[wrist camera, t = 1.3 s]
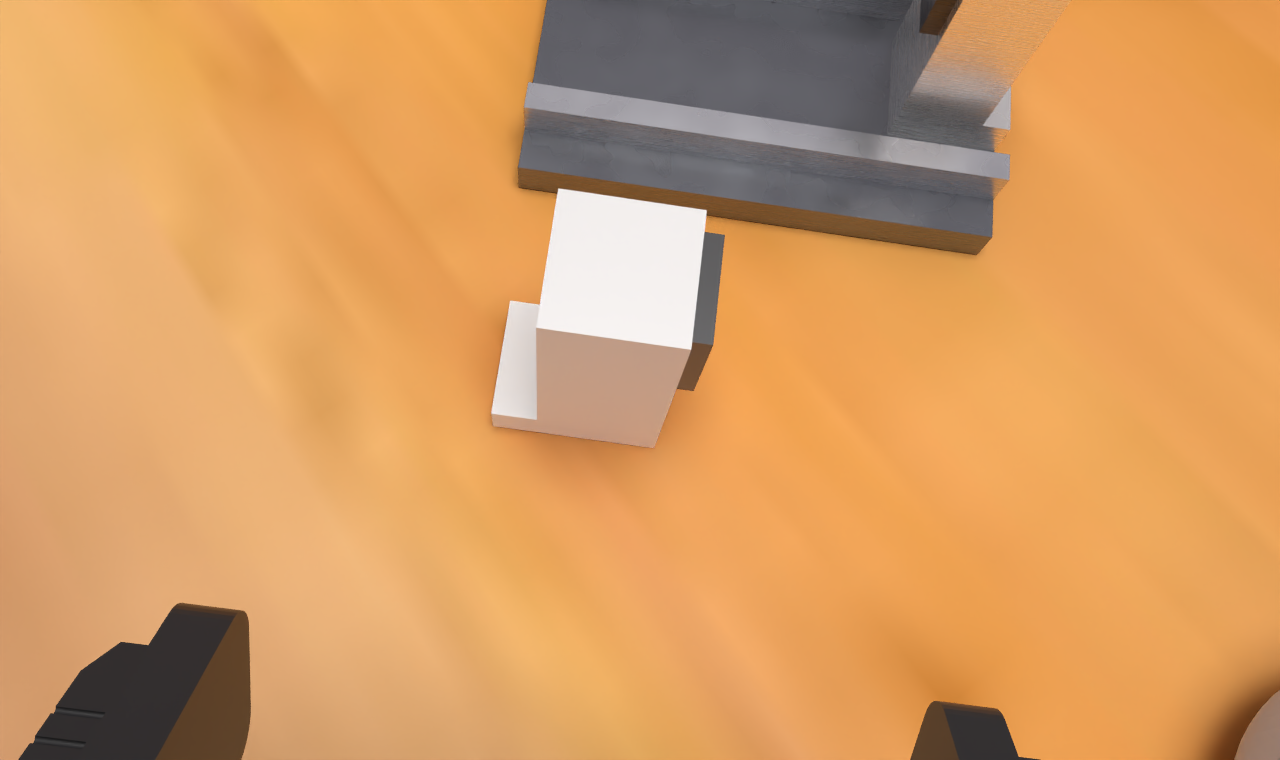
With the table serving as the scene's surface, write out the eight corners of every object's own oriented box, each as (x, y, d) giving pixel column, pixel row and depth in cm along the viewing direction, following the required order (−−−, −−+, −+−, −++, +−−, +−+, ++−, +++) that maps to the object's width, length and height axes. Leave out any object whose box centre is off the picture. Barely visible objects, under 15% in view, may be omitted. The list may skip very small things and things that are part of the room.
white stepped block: (492, 425, 38) (477, 319, 29) (511, 316, 39) (502, 179, 30) (671, 450, 38) (714, 353, 29) (684, 341, 40) (728, 213, 30)
